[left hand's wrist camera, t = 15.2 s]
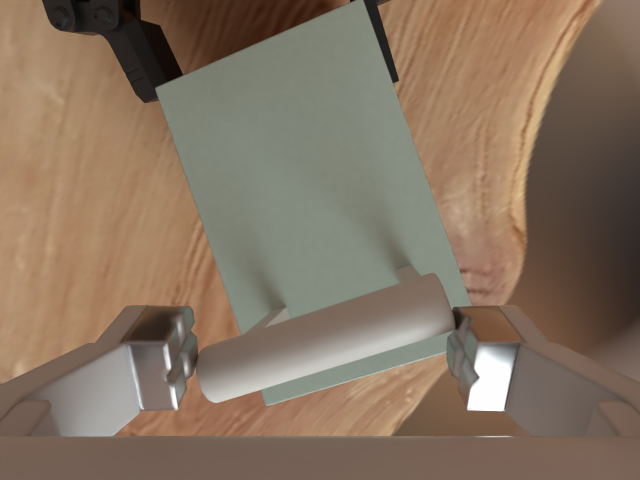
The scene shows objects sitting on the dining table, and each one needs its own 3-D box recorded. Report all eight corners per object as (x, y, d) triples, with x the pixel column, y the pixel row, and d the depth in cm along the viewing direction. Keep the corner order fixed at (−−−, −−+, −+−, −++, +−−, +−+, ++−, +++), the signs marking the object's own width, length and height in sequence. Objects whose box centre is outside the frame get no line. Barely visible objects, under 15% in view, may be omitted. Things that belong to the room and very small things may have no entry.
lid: (479, 335, 17) (568, 431, 9) (270, 398, 18) (189, 530, 10) (362, 7, 17) (350, -179, 9) (163, 93, 18) (5, -4, 10)
